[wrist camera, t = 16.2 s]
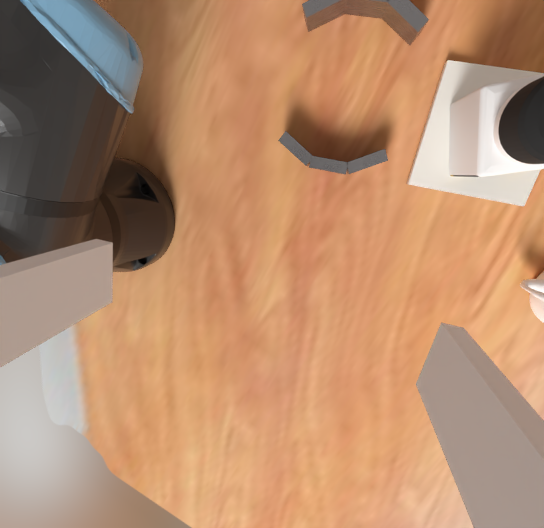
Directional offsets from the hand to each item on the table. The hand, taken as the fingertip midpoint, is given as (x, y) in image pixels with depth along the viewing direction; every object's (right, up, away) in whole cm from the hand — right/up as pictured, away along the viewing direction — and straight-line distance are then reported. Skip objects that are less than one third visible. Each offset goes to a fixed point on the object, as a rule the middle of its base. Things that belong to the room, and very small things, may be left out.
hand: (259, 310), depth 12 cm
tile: (+23, +15, +19) cm, 33 cm away
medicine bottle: (+22, +15, +19) cm, 33 cm away
